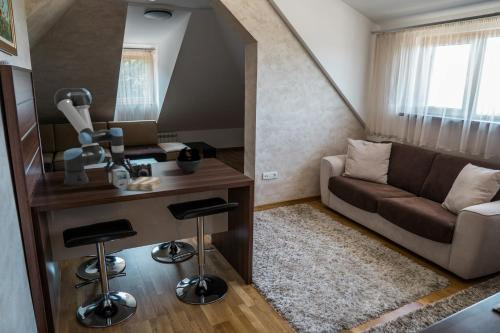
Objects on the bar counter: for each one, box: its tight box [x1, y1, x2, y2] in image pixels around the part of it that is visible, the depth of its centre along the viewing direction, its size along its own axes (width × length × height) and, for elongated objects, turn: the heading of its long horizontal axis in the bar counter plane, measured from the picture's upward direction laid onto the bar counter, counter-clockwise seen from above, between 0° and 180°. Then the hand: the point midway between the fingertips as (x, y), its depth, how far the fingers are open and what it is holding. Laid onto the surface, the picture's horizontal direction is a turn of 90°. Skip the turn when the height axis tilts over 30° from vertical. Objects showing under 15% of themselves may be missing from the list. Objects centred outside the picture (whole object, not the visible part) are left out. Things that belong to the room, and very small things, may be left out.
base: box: [128, 176, 163, 192], centre depth 228 cm, size 16×18×4 cm
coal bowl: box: [175, 146, 203, 173], centre depth 264 cm, size 20×20×19 cm
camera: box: [131, 162, 153, 179], centre depth 247 cm, size 14×11×10 cm
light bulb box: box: [111, 168, 129, 189], centre depth 227 cm, size 11×7×11 cm, turn 41°
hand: (120, 182), depth 228 cm, fingers open, 13 cm apart
